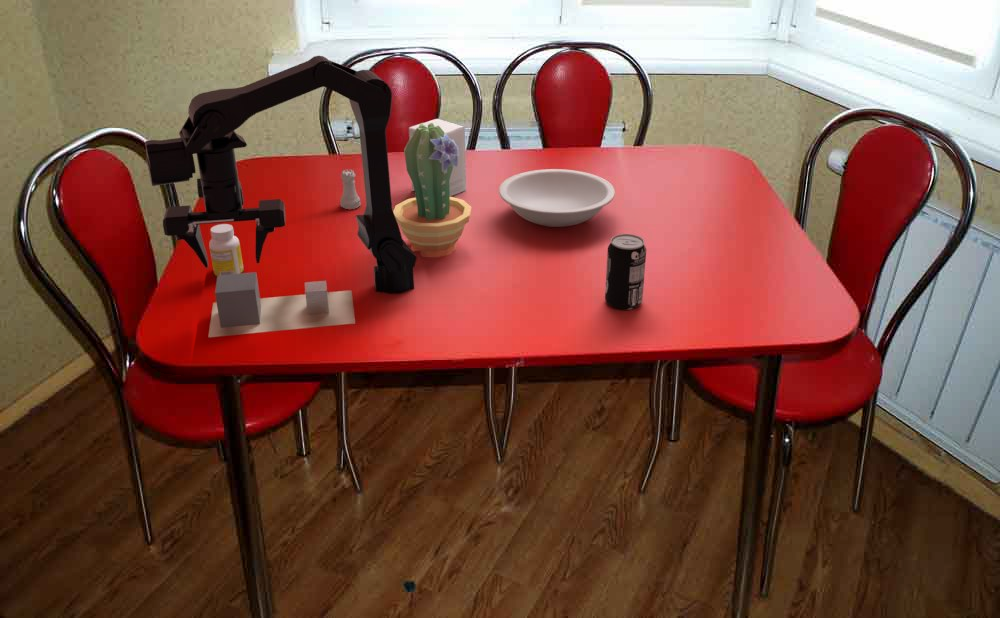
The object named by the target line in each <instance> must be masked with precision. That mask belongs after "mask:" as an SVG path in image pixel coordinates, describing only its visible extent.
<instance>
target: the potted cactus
mask: <svg viewBox="0 0 1000 618" xmlns="http://www.w3.org/2000/svg"><path fill="white" fill-rule="evenodd" d="M419 124H420V126H419V127H418V128H416V130H415V132H414V133H413V135H412V136H411V138H410V139H408V141H407V143H406V145H405V147H404V149H403V151H404V159H405V161H404V162H405V168H406V171H407V174H408V175H409V177H410V180H411V183H412V182H413V186H414V191H415V192H414V196H415V197H411V198H408V199H405V200H403V201H402V202H400V203H398V204H396V205H394V206H395V207H394V209H393V213H394V215H395V218H396V220H397V223H398V226H399V229H400V231H401V232H402V235H404V237H405V238H406V239H407V240H408V242H410V244H411V248H410V249H411V250H412V251H413V252H420V255H421V257H424V258H441V257H444V256H448V255H450V254H452V253H453V252H455V251H456V248H457V242H458V240H459V239H460V238H461V237H462V235H463V231H464V228H465V225H466V224H468V223H469V221H470V216H471V211H472V206H471V205H470V204H468V203H467V202H466V200H464V199H462V198H456V197H453V196H450V187H449V179H450V176H451V173H452V170H453V164H454V165H455V166H456V167H457V166H458V157H457V156H458V155H459V151H458V150H459V148H458V146H457V145H456V144H455V142H454V140H451V139H450V138H449V137H448V136H447V135H446V134H445V132H444V131H443V130H442V129H441V128H440V126H439V125H438V126H434V124H433V123H430V124H429V125H428V127H427V126H425V125H423V124H422V123H419Z"/></svg>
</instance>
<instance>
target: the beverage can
mask: <svg viewBox="0 0 1000 618" xmlns="http://www.w3.org/2000/svg"><path fill="white" fill-rule="evenodd" d="M606 255H607V258H606V272H605V273H606V274H605V289H604V291H605V292H604V299H605V301H606V303H607V304H608V305H609V306H610V307H612V308H613V309H616V310H623V311H624V310H625V311H629V310H633V309H636V308H637V307H638V306H639V305H641V303H642V302H643V300H644V299H643V298H644V284H645V271H646V259H647V248H646V245H645V240H644V239H643V238H642V236H639V235H636V234H631V233H621V234H616V235H614V236H612V237H611V239H610V243H609V244H608V246H607V254H606Z"/></svg>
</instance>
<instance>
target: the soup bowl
mask: <svg viewBox="0 0 1000 618" xmlns="http://www.w3.org/2000/svg"><path fill="white" fill-rule="evenodd" d="M498 194H499V197H500V198H501V199H502V201H504V202H505V203H507V204H508V205H510V207H511V208H512V209H513V211H514V212H515V213H516V214H518V216H520V217H521V218H523V219H525V220H526V221H528V222H530V223H533V224H537V225H540V226H544V227H552V228H553V227H559V228H560V227H561V228H562V227H570V226H574V225H579V224H582V223H584V222H586V221H589V220H590V219H591V218H593V217H595V216H596V215H597V214H598V213H600V211H601V210H602V209H603V208H604V207H605V206H606V205H608V204H610V203H611V202H612V201H613V200H614V198H615V196H616V190H615V187H614V186H613V185H612V183H610V182H609V181H608V180H607V179H604V178H602V177H601V176H598V175H596V174H592V173H589V172H585V171H580V170H573V169H563V168H562V169H561V168H551V169H550V168H549V169H547V168H545V169H535V170H529V171H525V172H521V173H517V174H515V175H512V176H510V177H508V178H506V179H505V180H503V181H502V183H501V184H500V185H499V188H498Z"/></svg>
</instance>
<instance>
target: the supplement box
mask: <svg viewBox="0 0 1000 618" xmlns="http://www.w3.org/2000/svg"><path fill="white" fill-rule="evenodd" d="M430 123H433V124H434V126H438V125H439V126H440V128H441V129H442V130H443V131H444V132H445V134H446V135H447V136H448V137H449V138H450V139H451V140H454V142H455V144H456V145H457V146H458V148H459V150H458V151H459V155H458V156H457V157H458V166H457V167H456V166H455V165H454V164H453V170H452V173H451V176H450V179H449V187H450V197H453V196H455V195H458V194H461V193H463V192H465V191H467V171H466V168H467V165H466V163H467V162H466V132H465V131H466V130H465V129H466V127H465V126H462V125H461V124H460V125H459V124H456V123H452V122H449V121H446V120H444V119H443V120H442V119H441V118H434V119H432V120H429V121H426V122H421V123H419V124H415V125H412V126H410V127H408V136H409V139H410V138H411V136H412V135H413V133H414V132H415V130H416V128H418V127H419V126H420V124H423V125H425V126H427V127H428V125H429V124H430ZM409 139H408V140H409ZM411 186H412V187H411V188H412V192H413V191H414V186H413V182H412V181H411Z"/></svg>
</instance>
